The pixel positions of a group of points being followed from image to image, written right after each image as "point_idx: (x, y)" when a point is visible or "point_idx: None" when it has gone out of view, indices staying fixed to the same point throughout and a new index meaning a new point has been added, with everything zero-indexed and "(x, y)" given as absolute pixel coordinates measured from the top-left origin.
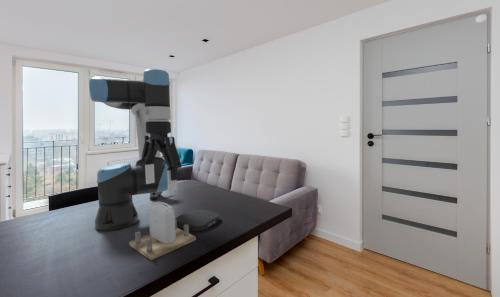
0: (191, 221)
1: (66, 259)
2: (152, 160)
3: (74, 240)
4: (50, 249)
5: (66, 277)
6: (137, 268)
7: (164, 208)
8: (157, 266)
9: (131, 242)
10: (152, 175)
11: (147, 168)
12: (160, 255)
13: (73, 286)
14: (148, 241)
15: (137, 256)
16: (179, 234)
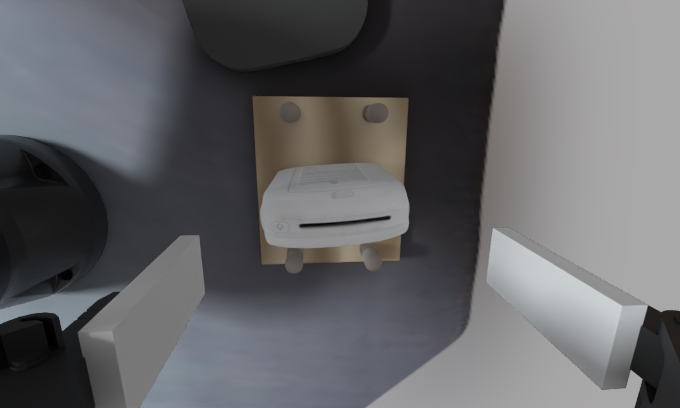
0: (302, 28)
1: (220, 387)
2: (77, 390)
3: None
4: None
5: (310, 398)
6: (402, 291)
7: (393, 233)
8: (434, 257)
9: (274, 262)
10: (176, 278)
11: (149, 376)
12: None
13: (358, 394)
14: (379, 266)
15: (348, 269)
16: (346, 127)
